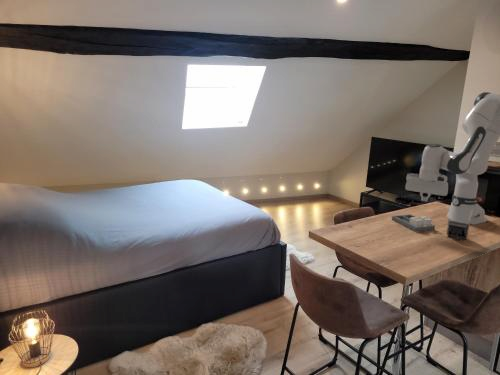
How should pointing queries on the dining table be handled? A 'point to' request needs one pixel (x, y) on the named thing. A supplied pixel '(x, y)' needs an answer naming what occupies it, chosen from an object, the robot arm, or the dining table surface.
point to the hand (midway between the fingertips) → (424, 200)
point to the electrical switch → (457, 229)
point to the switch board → (405, 221)
